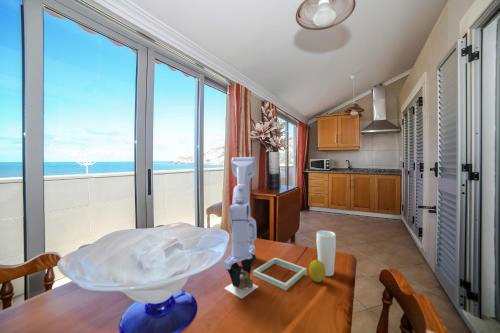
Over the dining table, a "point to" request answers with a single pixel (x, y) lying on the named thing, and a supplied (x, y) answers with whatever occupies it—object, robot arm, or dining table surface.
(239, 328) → the dining table surface
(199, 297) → the dining table surface
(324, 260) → the drinking glass
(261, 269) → the tray
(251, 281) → the ring
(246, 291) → the white base with peg
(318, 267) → the lemon
